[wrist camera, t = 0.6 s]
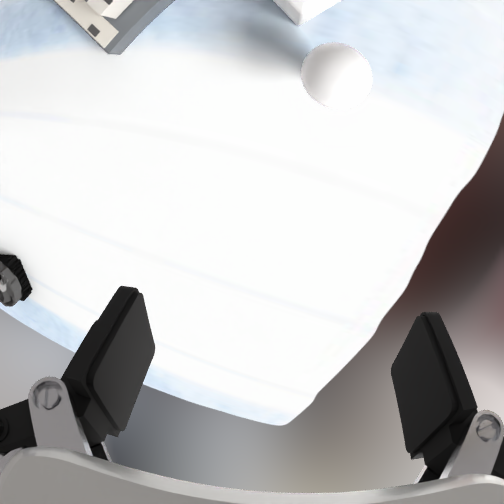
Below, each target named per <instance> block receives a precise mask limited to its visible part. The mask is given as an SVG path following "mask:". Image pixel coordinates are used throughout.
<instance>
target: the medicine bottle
mask: <svg viewBox="0 0 504 504" xmlns="http://www.w3.org/2000/svg"><path fill="white" fill-rule="evenodd" d="M273 1H274V2H275V3H276V4H277V5H278V6H279V7H280V8H281V9H282V10H283V11H284V12H285V13H286V14H287V15H288V16H289V18H290V19H291V20H292V21H293V22H294V23H295V24H296V25H297V26H301V25H302V24H304V23H306V22H307V21H309V20H310V19H312V18H313V17H315V16H317V15H318V14H320V13H321V12H323V11H325V10H326V9H328V8H330V7H331V6H333V5H335V4H336V3H338V2H340V1H342V0H273Z"/></svg>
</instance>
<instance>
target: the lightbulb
mask: <svg viewBox="0 0 504 504" xmlns="http://www.w3.org/2000/svg"><path fill="white" fill-rule="evenodd" d="M301 79H302V83H303V86H304V88H305V90H306V91H307V93H308V94H309V95H310V97H311V98H312V99H314V100H315V101H316V102H317V103H319V104H321V105H323V106H325V107H328V108H332V109H347V108H351V107H353V106H356V105H357V104H359V103H360V102H362V101H363V100H364V99H365V97H366V96H367V95H368V93H369V91H370V89H371V85H372V71H371V68H370V65H369V63H368V61H367V60H366V58H365V57H364V56H363V55H362V54H361V53H360V52H359V51H358V50H356V49H355V48H353V47H351V46H349V45H347V44H343V43H338V42H330V43H324V44H321V45H319V46H317V47H315V48H314V49H312V50H311V51H310V52H309V53H308V54H307V56H306V57H305V59H304V61H303V64H302V67H301Z"/></svg>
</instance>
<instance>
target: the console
mask: <svg viewBox="0 0 504 504" xmlns="http://www.w3.org/2000/svg"><path fill="white" fill-rule="evenodd" d="M53 1H54V2H56V3H57V4H58V5H59V6H60V7H61V8H62V9H63V10H64V11H65V12H66V13H67V14H68V15H69V16H70V17H71V18H72V19H73V20H74V21H75V22H76V23H77V24H78V25H79V26H80V27H81V28H83V29H84V30H85V31H86V32H87V33H88V34H89V35H90V36H91V37H92V38H93V39H94V40H95V41H96V42H97V43H98V44H99V45H100V46H101V47H102V48H103V49H104V50H105V51H106V52H107V53H108V54H117V55H120V54H121V53H122V52H123V51H124V50H125V49H126V48H127V47H128V46H129V44H130V43H131V42H132V41H133V40H134V39H135V38H136V37H137V36H138V35H139V34H140V33H141V32H142V31H143V30H144V29H145V28H146V27H147V26H148V25H149V24H150V23H151V22H152V21H153V20H154V19H155V18H156V17H157V16H158V15H159V14H160V13H161V12H162V11H163V10H165V9H166V8H167V7H168V6H169V5H170V4H171V3H172V2H173V1H175V0H134V1H133V2H132V3H131V4H130V5H129V6H128V7H127V8H126V9H125V10H124V11H123V12H122V13H121V14H120V15H119V16H118V17H117V18H116V19H115V18H110V17H106V16H102V15H100V14H99V13H97V12H96V11H95V10H94V9H93V8H92V7H91V6H90V5H89V4H88V3H86V2H87V1H88V0H53Z"/></svg>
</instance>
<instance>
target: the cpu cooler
mask: <svg viewBox="0 0 504 504" xmlns="http://www.w3.org/2000/svg"><path fill="white" fill-rule="evenodd" d="M20 261H21V260H18V259H17V257H16V256H14V255H1V254H0V302H1V303H2V304H3V305H5V306H13V305H15V304H16V303H17V302H18V301H19V300H22V301H24V300H25V299H26V298H27V297H28V296H29V295H30V294H31V290H32V288H31V285H30V283H29V280H28V278H27V275H26V274H25V270H24V269H23V265H22V264H21V262H20Z"/></svg>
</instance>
